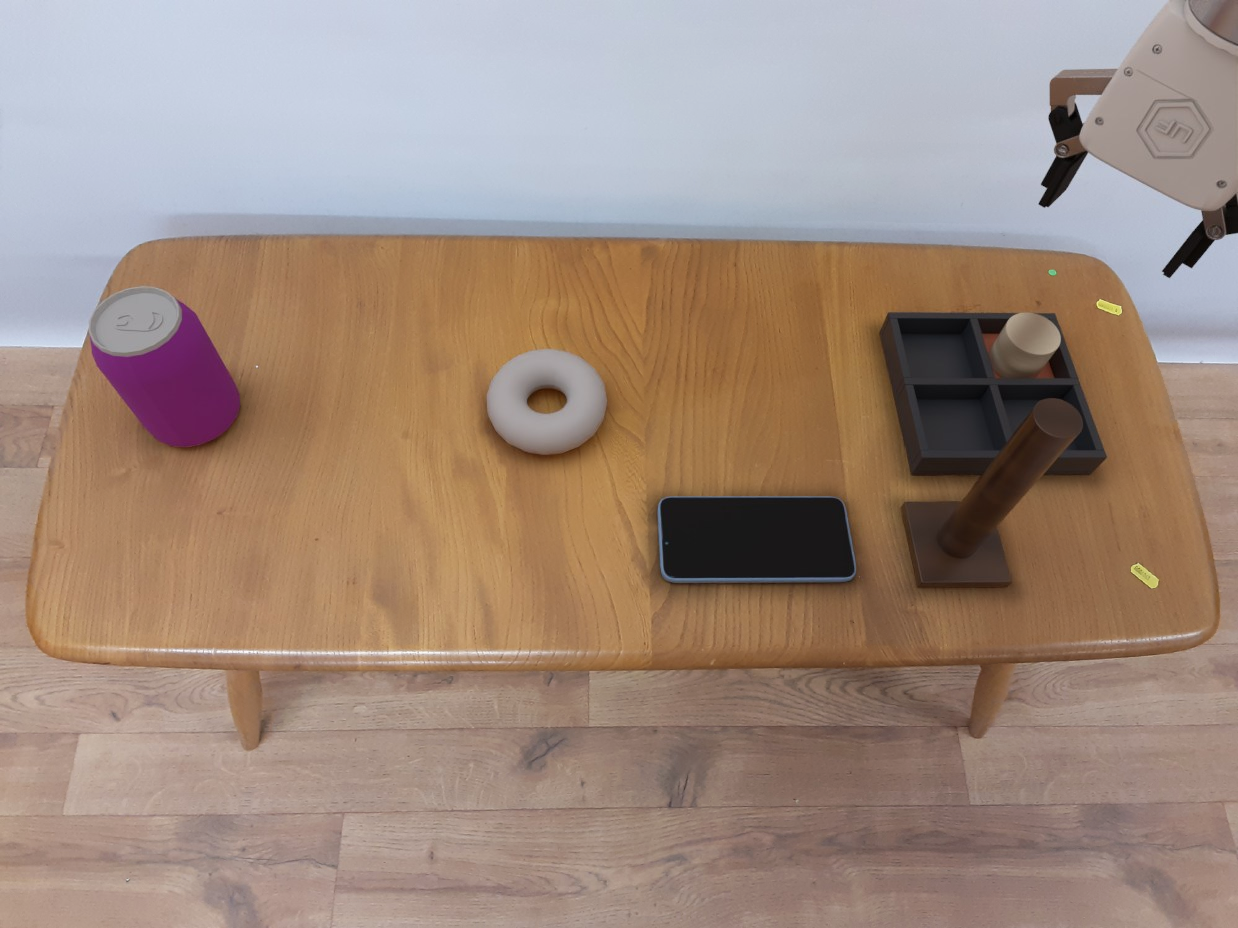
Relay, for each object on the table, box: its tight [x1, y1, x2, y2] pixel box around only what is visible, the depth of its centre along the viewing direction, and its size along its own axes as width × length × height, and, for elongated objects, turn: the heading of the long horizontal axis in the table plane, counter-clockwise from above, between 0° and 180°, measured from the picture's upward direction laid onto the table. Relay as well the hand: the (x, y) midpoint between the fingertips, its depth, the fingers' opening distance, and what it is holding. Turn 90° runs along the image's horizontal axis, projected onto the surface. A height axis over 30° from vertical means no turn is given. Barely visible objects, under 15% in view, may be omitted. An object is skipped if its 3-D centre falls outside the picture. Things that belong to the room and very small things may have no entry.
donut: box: [485, 348, 608, 456], centre depth 73 cm, size 10×4×10 cm
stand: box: [900, 398, 1083, 589], centre depth 62 cm, size 7×7×18 cm
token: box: [988, 311, 1061, 378], centre depth 77 cm, size 5×5×4 cm
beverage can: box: [87, 285, 241, 448], centre depth 68 cm, size 8×8×12 cm
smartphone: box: [657, 495, 857, 584], centre depth 69 cm, size 7×1×15 cm
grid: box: [878, 311, 1108, 476], centre depth 76 cm, size 15×15×3 cm
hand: (1111, 231), depth 64 cm, fingers open, 9 cm apart
